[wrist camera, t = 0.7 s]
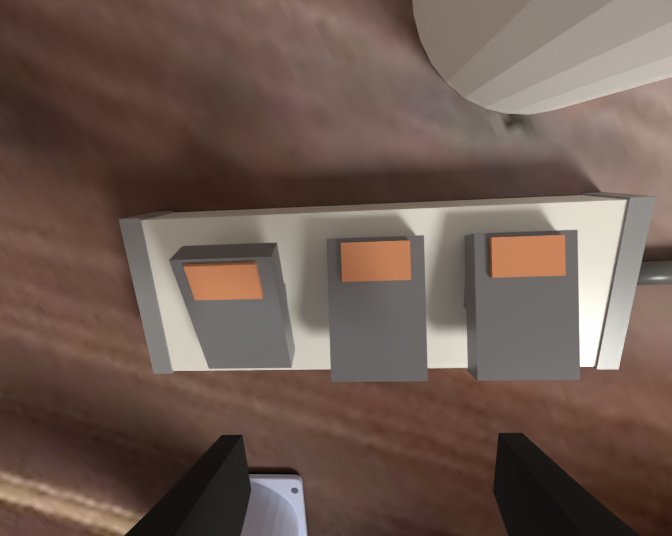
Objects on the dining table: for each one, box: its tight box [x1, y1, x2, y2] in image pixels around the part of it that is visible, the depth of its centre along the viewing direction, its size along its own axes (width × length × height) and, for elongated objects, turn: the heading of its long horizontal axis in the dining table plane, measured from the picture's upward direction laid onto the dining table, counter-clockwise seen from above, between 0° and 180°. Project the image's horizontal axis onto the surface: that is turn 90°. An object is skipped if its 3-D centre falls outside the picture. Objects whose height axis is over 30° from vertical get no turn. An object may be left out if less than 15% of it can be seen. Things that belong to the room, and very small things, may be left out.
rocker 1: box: [169, 242, 295, 369], centre depth 15 cm, size 6×4×1 cm, turn 3°
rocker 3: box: [465, 230, 580, 381], centre depth 14 cm, size 6×4×1 cm, turn 3°
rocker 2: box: [327, 235, 428, 382], centre depth 14 cm, size 6×4×1 cm, turn 3°
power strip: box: [119, 192, 672, 374], centre depth 17 cm, size 8×29×4 cm, turn 93°
